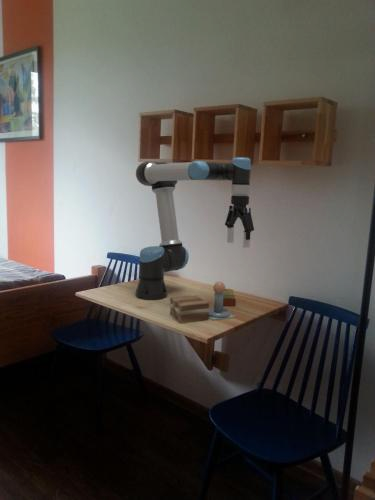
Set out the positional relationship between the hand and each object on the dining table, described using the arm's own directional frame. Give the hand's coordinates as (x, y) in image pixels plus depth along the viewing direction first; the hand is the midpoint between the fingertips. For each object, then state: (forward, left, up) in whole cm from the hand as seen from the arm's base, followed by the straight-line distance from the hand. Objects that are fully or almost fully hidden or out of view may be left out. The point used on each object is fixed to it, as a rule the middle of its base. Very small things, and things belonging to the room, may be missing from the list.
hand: (237, 245), depth 181 cm
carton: (-12, +2, -29) cm, 32 cm away
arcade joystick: (+5, -11, -28) cm, 31 cm away
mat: (+5, -11, -29) cm, 31 cm away
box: (+3, -23, -29) cm, 37 cm away
